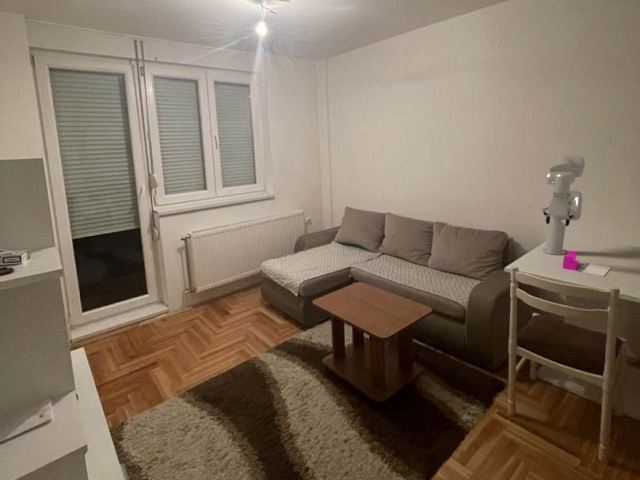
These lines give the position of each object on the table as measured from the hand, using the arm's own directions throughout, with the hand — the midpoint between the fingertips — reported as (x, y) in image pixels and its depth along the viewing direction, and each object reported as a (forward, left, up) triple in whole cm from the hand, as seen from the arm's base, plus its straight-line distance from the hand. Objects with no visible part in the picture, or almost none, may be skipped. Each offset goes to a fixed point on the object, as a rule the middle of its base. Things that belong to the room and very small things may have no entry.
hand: (557, 224), depth 218 cm
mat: (-3, +21, -24) cm, 32 cm away
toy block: (-2, +9, -24) cm, 26 cm away
